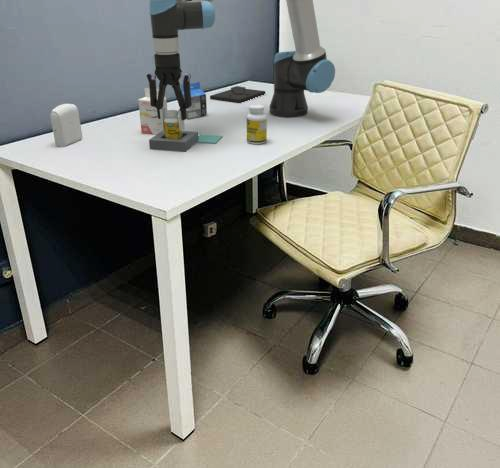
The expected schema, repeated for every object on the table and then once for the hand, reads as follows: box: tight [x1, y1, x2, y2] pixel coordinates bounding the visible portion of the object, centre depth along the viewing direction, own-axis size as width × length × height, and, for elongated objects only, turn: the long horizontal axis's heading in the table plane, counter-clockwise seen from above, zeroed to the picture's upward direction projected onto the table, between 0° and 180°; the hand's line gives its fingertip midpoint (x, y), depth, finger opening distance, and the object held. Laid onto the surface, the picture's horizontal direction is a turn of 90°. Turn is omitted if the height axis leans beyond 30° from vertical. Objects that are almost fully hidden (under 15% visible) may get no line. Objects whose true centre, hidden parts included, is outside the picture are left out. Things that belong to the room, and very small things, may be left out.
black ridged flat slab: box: [209, 85, 266, 104], centre depth 227 cm, size 16×3×21 cm
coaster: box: [196, 133, 223, 145], centre depth 168 cm, size 8×8×1 cm
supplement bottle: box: [164, 109, 182, 140], centre depth 161 cm, size 5×5×10 cm
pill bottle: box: [246, 104, 268, 145], centre depth 163 cm, size 6×6×12 cm
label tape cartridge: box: [180, 81, 208, 120], centre depth 193 cm, size 9×4×12 cm, turn 131°
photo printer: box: [49, 103, 83, 148], centre depth 164 cm, size 10×4×12 cm, turn 158°
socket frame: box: [148, 130, 199, 153], centre depth 163 cm, size 12×12×3 cm
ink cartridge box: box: [138, 87, 168, 136], centre depth 173 cm, size 9×5×15 cm, turn 71°
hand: (173, 129), depth 161 cm, fingers closed on supplement bottle, 5 cm apart
